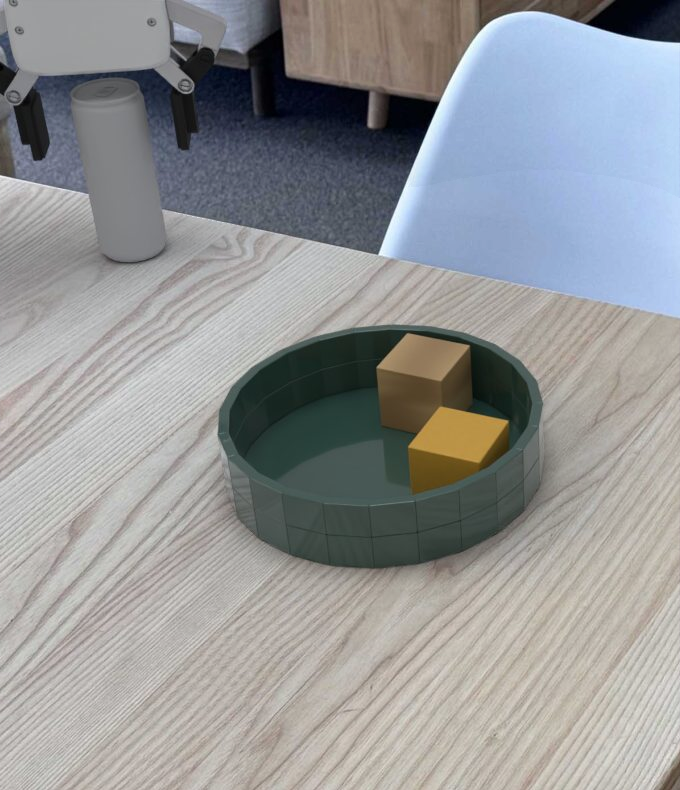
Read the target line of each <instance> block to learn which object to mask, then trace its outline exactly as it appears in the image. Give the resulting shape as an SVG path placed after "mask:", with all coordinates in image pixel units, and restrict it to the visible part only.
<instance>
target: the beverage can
mask: <svg viewBox="0 0 680 790" xmlns="http://www.w3.org/2000/svg"><path fill="white" fill-rule="evenodd" d="M140 88H141V86H140V85H139V83H138V81H135V80H133V79H130V78H124V77H105V78H104V77H103V78H97V79H93V80H88V81H85V82H83V83H80V84H78V85H76V86H75V87H73V88H72V89H71V90H70V94H69V96H70V98H71V100H70V104H69V105H70V111H71V115H72V120H73V126H74V131H75V135H76V141H77V145H78V151H79V155H80V159H81V164H82V169H83V174H84V179H85V184H86V189H87V193H88V199H89V204H90V208H91V213H92V219H93V222H94V228H95V232H96V233H95V234H96V237H97V243H98V247H99V249H100V251H101V253H102V254H104V255H105V256H106V257H108V258H109V259H110V260H113V261H116V262H120V263H136V262H141V261H146V260H149V259H152V258H154V257H155V256H158V255H159V254H160V253H162V251H163V250H164V248H165V247H166V244H167V242H168V235H167V229H166V223H165V218H164V212H163V207H162V206H163V205H162V201H161V195H160V189H159V184H158V183H159V182H158V176H157V171H156V166H155V158H154V151H153V145H152V139H151V132H150V126H149V119H148V114H147V108H146V102H145V97H144V94H143V93H142V92H141V89H140Z"/></svg>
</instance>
